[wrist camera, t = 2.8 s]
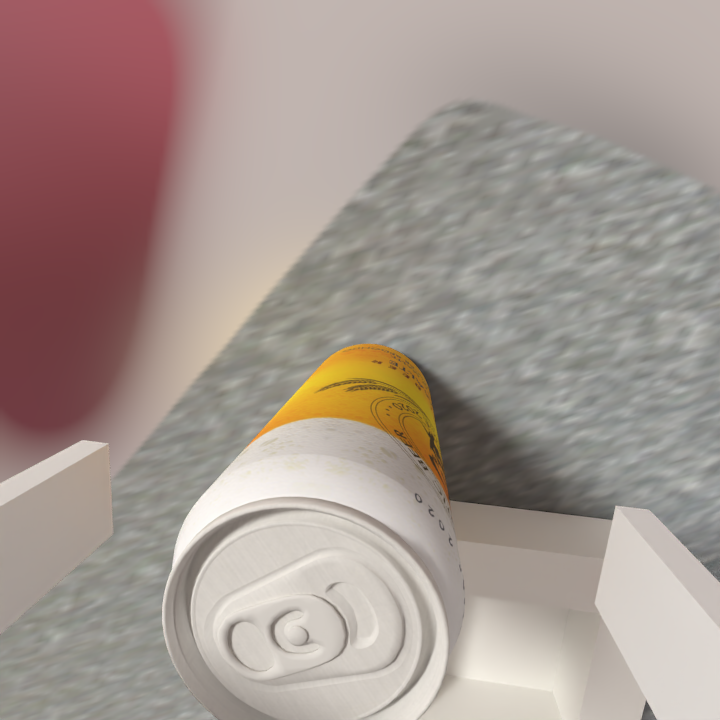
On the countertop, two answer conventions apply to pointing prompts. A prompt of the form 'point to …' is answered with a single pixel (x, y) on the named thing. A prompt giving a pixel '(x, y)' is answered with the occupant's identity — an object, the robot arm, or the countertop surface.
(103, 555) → the countertop surface
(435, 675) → the beer can
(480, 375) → the countertop surface
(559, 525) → the socket block
